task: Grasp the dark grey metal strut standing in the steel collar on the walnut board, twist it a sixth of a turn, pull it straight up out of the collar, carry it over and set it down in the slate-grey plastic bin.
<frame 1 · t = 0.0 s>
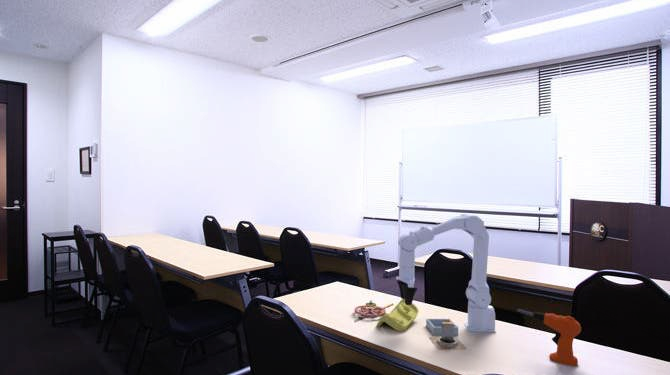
hand: (406, 301, 144), 10 cm above the table, tool pointing down, fingers open, 7 cm apart
stud plate: (447, 344, 129), on the table
toy drill: (547, 358, 120), on the table
strut: (447, 343, 129), resting on stud plate
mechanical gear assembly: (375, 314, 161), on the table
plastic component: (399, 324, 149), on the table
bin: (441, 331, 141), on the table
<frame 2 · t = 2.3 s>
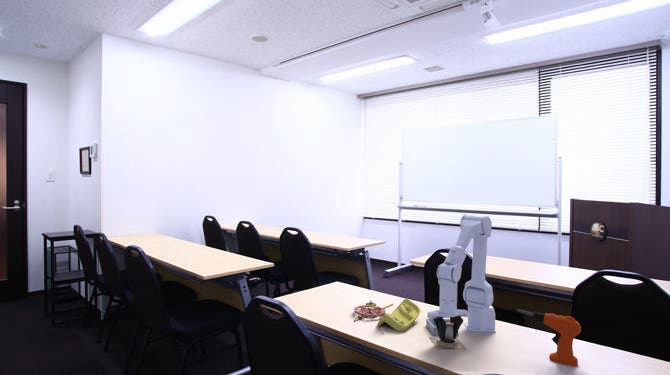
hand: (447, 338, 129), 2 cm above the table, tool pointing down, fingers closed on strut, 4 cm apart
strut: (447, 343, 129), resting on stud plate, touching gripper
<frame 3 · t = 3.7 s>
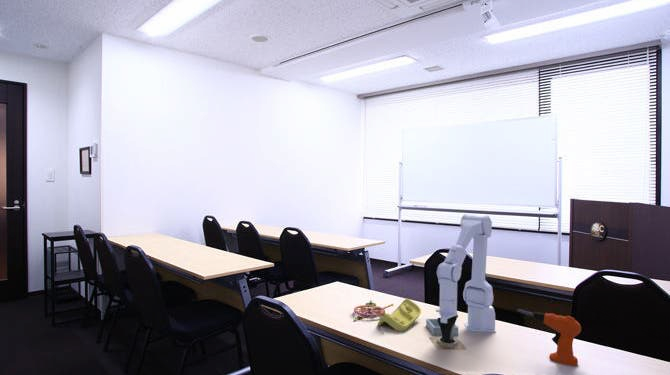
hand: (447, 337, 129), 2 cm above the table, tool pointing down, fingers closed on strut, 4 cm apart
strut: (447, 342, 129), point 1 cm above the table, touching gripper
everything else where it was.
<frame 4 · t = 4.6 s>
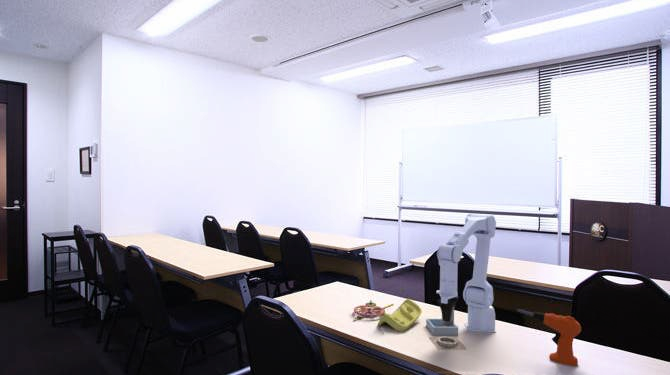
hand: (447, 319, 129), 9 cm above the table, tool pointing down, fingers closed on strut, 4 cm apart
strut: (447, 324, 129), point 7 cm above the table, touching gripper
everything else where it was.
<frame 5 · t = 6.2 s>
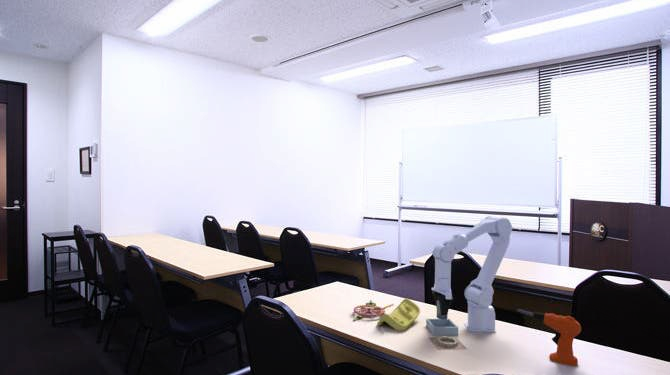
hand: (442, 313, 141), 7 cm above the table, tool pointing down, fingers closed on strut, 4 cm apart
strut: (442, 317, 141), point 5 cm above the table, touching gripper
when the fingers open (3 cm above the table, at t = 7.2 s): strut drops 1 cm, resting on bin.
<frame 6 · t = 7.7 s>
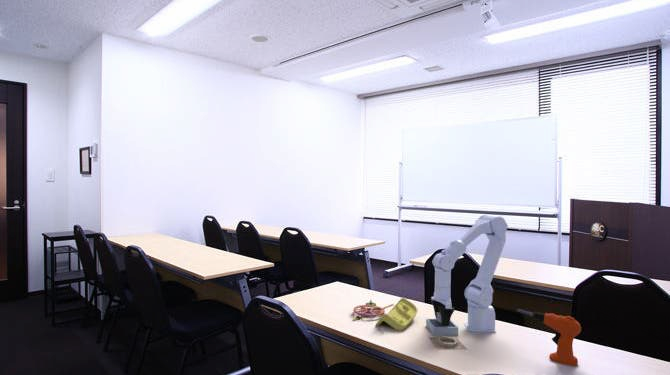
hand: (441, 322, 141), 3 cm above the table, tool pointing down, fingers open, 7 cm apart
strut: (441, 329, 141), point 1 cm above the table, touching bin
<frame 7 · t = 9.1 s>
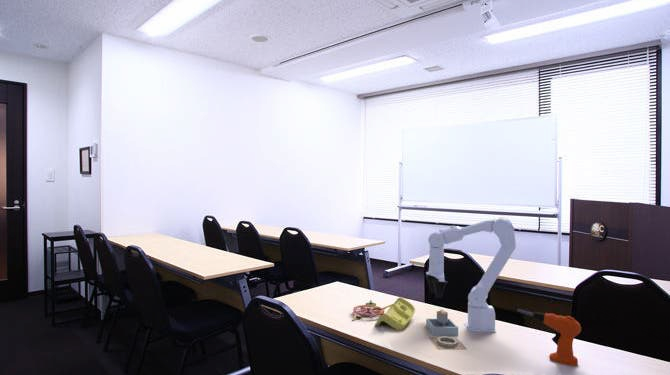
hand: (435, 295, 152), 10 cm above the table, tool pointing down, fingers open, 7 cm apart
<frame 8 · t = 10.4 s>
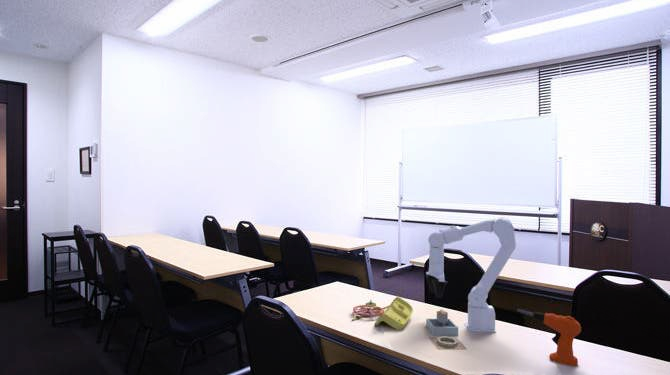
hand: (435, 295, 152), 10 cm above the table, tool pointing down, fingers open, 7 cm apart
at the end: strut inside the target area on the bin (0.1 cm from its centre), point 0.6 cm above the bin's base; the gripper is holding nothing; strut touching bin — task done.
